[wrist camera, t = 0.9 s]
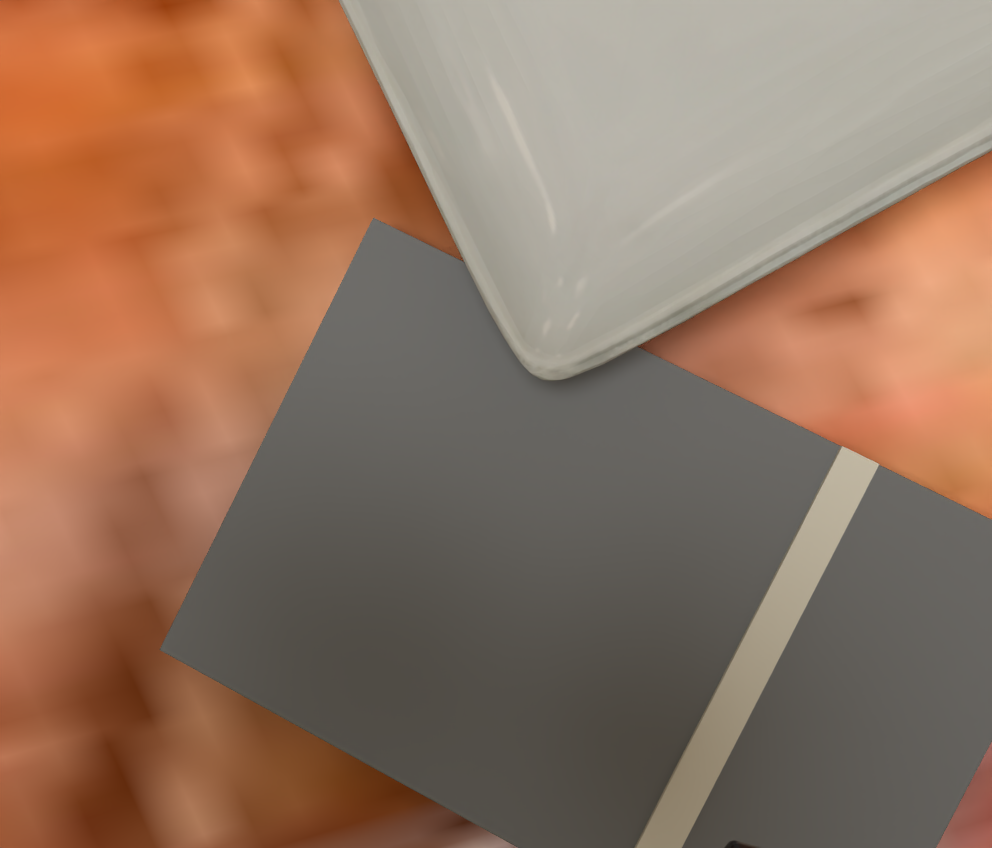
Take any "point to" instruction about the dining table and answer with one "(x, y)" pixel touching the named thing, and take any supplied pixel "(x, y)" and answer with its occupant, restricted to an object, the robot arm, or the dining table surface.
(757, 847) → the robot arm
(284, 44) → the dining table surface
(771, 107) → the square plate
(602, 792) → the charcoal board
